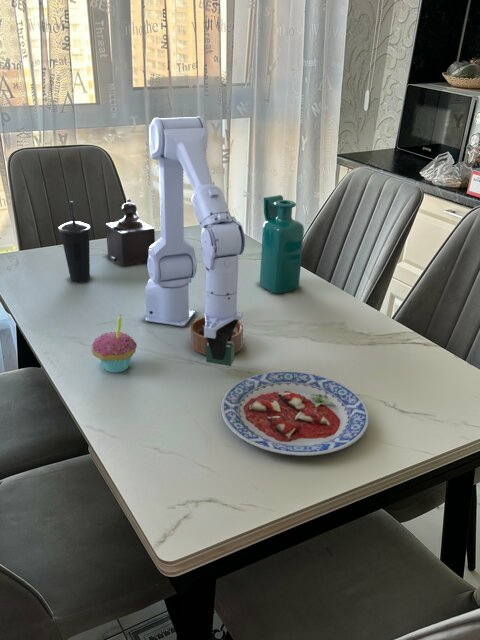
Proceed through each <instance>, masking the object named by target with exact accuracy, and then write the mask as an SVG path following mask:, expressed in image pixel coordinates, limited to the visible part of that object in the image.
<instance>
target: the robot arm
mask: <svg viewBox="0 0 480 640" xmlns="http://www.w3.org/2000/svg"><path fill="white" fill-rule="evenodd" d="M148 135H149V154H150V158H151V159H152V160H155V161H157V162H158V174H159V175H158V176H159V180H158V181H159V208H160V209H159V210H160V211H159V214H160V215H159V216H160V238H158V239H157V240H155V243H153V244H152V245H151V246H150V247H149V256H148V261H147V265H146V266H147V273H148V276H149V279H148V281H147V283H146V285H145V291H144V292H145V294H144V295H145V297H144V298H145V312H146V313H145V314H146V317H145V319H144V320H145V321H146V322H151V323H156V324H165V325H170V326H176V327H177V326H178V327H185V326H187V324H188V323H189V321H190V320H191V319H192V318H193V316H194V315H195V314H196V311H195V310H192V309H190V290H189V288H190V287H189V285H190V284H191V283H192V279H194V278H195V276H196V274H197V270H198V265H197V264H198V263H197V259H196V251H195V248H194V246H193V245H192V243H191V242H190V241H188V240H186V239H185V234H184V233H185V231H184V230H185V227H184V226H185V221H184V219H185V216H184V211H185V210H184V209H185V207H184V173H185V175H186V177H187V180H188V182H189V184H190V186H191V188H192V190H193V194H192V196H191V199H190V200H191V201H190V202H191V204H192V208H193V210H194V213H195V216H196V219H197V222H198V224H199V227H200V230H201V233H200V239H199V240H200V246H201V247H200V248H201V252H202V261H203V265H204V266H205V310H204V317H205V323H204V324H203V326H202V332H203V334H204V337H206V339H207V341H208V344H209V347H210V351H211V355H212V358H213V359H218V360H223V358H224V355H225V351H226V345H227V341H230V342H231V338H232V334H233V331H234V328H235V326H236V324H237V322H238V321H239V320H242V318H243V314H244V313H243V312H241V311H239V310H238V309H237V305H238V304H237V303H238V279H239V278H238V277H239V255H243V253H244V251H245V247H246V235H245V231H244V228H243V224H241V221H239V220H237V218H236V216H232V214H231V212H230V209H229V207H228V204H227V202H226V198H225V196H224V194H223V191H222V189H221V188H220V187H219V186H217V185H214V184H213V180H212V175H211V173H210V169H209V165H208V160H207V158H206V157H207V156H206V152H207V146H208V142H209V140H208V139H209V133H208V126H207V123H206V121H205V120H204V118H202V116H199V115H198V116H195V117H194V116H192V117H167V118H166V117H164V118H162V117H161V118H159V117H154V118H153V119H152V121H151V123H150V125H149V128H148ZM239 322H240V321H239Z"/></svg>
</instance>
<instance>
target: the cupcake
mask: <svg viewBox="0 0 480 640" xmlns="http://www.w3.org/2000/svg"><path fill="white" fill-rule="evenodd" d="M121 316H122V314H121V313H120V314H119V316H118V317H117V325H116V331H114V332H112V331H110V332H105V333H102V334H100V335H99V336H97V337H96V338H95V339H94V341H93V342H92V347H91V354H92V355H93V356H94V357H95V358H97V359H99V360H100V362H101V364H102V366H103V368H104V370H105V371H107V372H109V373H121V372H124V371H126V370H127V369H129V365H130V362H131V358H132V357H133V356H134V354H135V353H136V351H137V350H136V348H137V342H135V339H134V338H133V337H132V336H130V335H129V334H127V333H124V332H122V331H121V328H122V317H121Z"/></svg>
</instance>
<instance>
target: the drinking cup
mask: <svg viewBox="0 0 480 640" xmlns="http://www.w3.org/2000/svg"><path fill="white" fill-rule="evenodd" d="M69 204H70V212H71V221H69V222H66V223H63V224H61V225H60V226H58V231H59V233H60V236H61V242H62V246H63V250H64V255H65V259H66V260H65V261H66V264H67V268H68V273H69V279H70V281H71V282H73V283H80V284H81V283H86V282H89V280H90V279H91V278H90V277H91V271H90V270H91V267H90V265H91V264H90V262H91V261H90V260H91V259H90V231H91V226H90V224H88V223H84V222H82V221H76V217H75V207H74V201H73V200H70V201H69Z"/></svg>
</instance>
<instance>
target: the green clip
mask: <svg viewBox="0 0 480 640" xmlns="http://www.w3.org/2000/svg"><path fill="white" fill-rule="evenodd" d="M234 347H235V343H233V342H230V341H227V345H226V351H225V355H224V358H223V360H218V359H213V358H212V355H211V351H210V347H209V344H208V343H207V345H206V355H205V362H206V363H210V364H214V365H219V366H225V367H226V366H227V367H231V366H232V364H233V363H234V361H235V353H234Z"/></svg>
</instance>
